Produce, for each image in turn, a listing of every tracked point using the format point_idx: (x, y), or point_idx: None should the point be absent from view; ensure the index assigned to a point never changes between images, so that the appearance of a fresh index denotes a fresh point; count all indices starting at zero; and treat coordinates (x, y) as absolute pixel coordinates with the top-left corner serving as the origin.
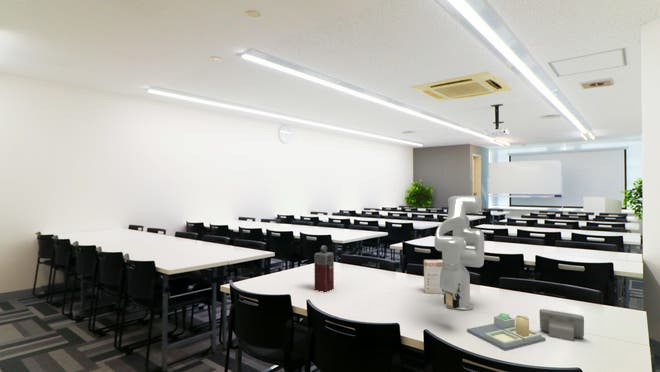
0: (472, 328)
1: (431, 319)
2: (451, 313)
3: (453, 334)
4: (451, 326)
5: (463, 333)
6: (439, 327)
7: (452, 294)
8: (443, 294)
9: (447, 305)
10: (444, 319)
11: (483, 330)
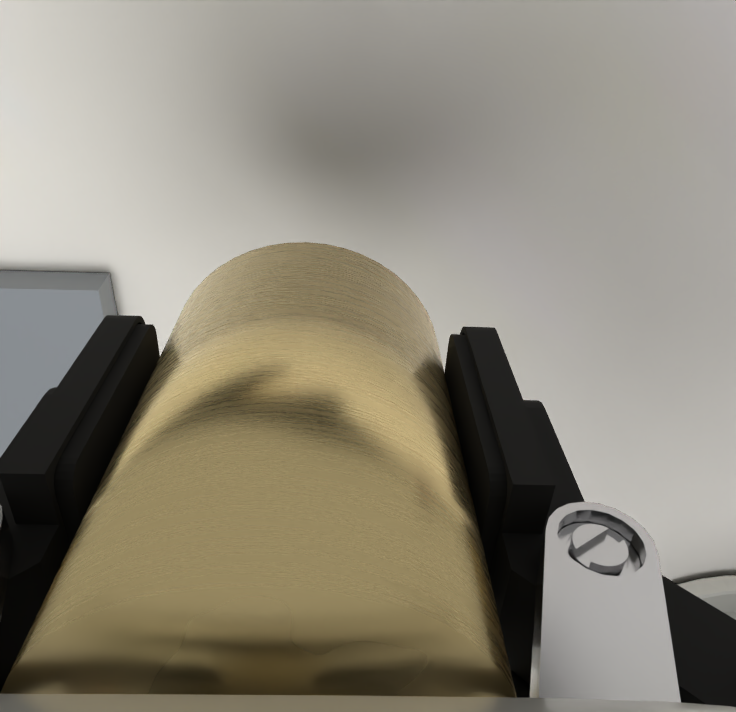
0: None
1: (701, 140)
2: (644, 489)
3: (65, 6)
4: (343, 217)
5: (67, 186)
6: (397, 7)
7: (16, 666)
8: (617, 523)
9: (291, 278)
10: (575, 306)
11: (4, 422)
